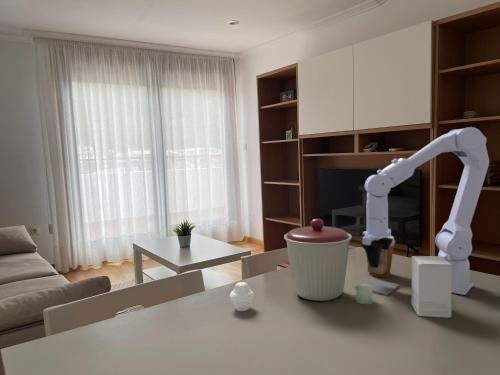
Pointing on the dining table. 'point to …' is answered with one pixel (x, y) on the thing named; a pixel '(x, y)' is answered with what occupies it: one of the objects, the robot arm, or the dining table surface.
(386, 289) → the slate mat
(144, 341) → the dining table surface
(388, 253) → the disposable coffee cup
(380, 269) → the walnut block
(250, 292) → the white rounded piece
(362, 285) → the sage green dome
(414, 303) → the supplement box
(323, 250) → the canister
